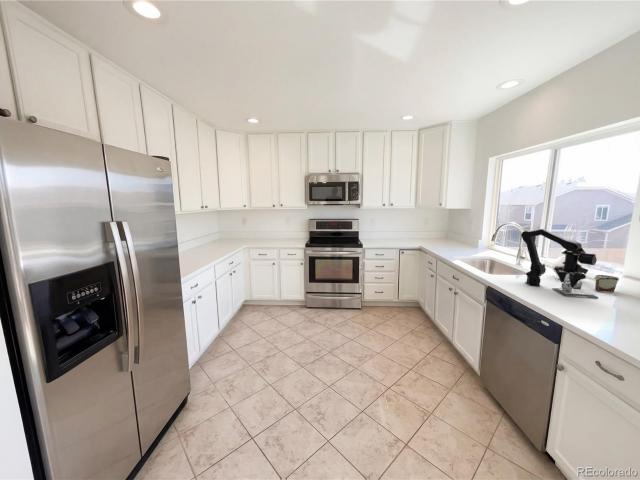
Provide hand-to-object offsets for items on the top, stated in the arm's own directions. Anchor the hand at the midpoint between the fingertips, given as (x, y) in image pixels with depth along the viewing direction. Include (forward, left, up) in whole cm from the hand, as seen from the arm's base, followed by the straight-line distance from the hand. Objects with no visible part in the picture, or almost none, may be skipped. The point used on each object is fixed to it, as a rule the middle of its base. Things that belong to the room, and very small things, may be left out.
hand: (567, 284), depth 158 cm
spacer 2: (+12, +12, -6) cm, 18 cm away
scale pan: (+4, 0, -5) cm, 6 cm away
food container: (+26, +12, -6) cm, 30 cm away
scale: (+4, 0, -6) cm, 7 cm away
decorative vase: (+20, +35, -6) cm, 41 cm away
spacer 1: (0, 0, -4) cm, 4 cm away
